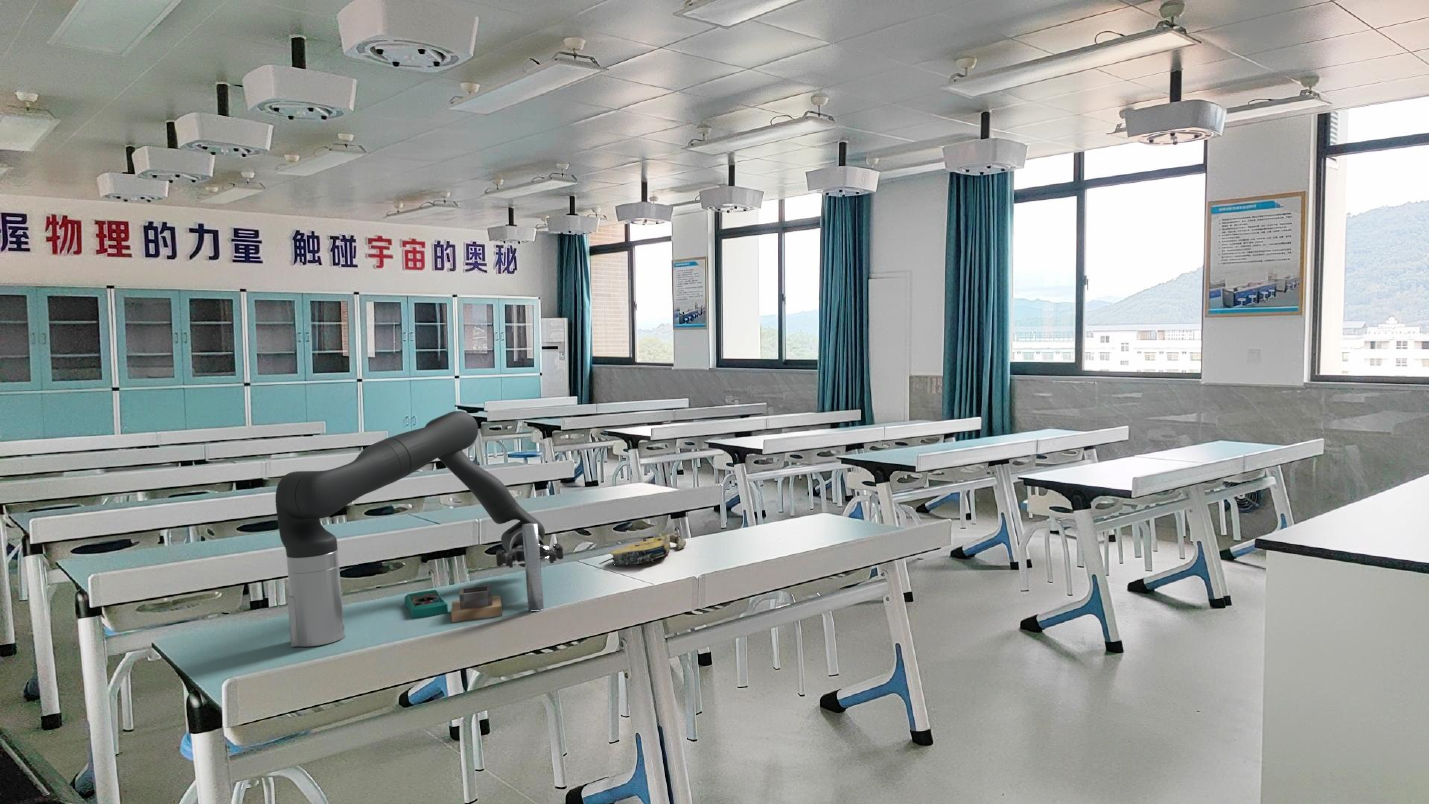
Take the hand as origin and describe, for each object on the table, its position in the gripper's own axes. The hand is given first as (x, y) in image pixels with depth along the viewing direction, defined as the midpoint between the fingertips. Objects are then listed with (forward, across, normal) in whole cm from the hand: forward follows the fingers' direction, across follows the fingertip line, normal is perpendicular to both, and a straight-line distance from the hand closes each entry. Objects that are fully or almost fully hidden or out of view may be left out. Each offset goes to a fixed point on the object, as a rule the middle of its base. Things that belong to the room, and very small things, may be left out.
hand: (531, 560), depth 198 cm
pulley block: (-37, +32, +10) cm, 51 cm away
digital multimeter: (-11, -23, +11) cm, 27 cm away
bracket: (-1, -12, +10) cm, 16 cm away
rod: (+2, 0, +10) cm, 10 cm away
